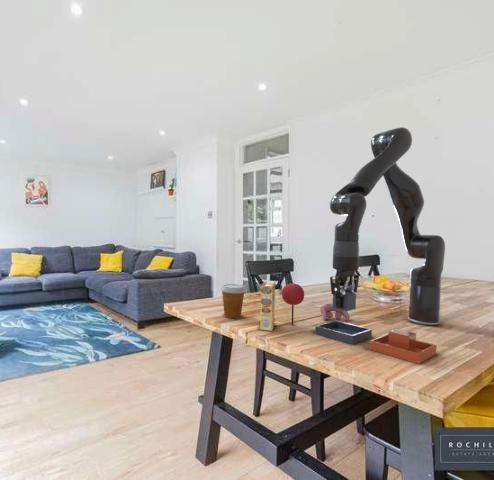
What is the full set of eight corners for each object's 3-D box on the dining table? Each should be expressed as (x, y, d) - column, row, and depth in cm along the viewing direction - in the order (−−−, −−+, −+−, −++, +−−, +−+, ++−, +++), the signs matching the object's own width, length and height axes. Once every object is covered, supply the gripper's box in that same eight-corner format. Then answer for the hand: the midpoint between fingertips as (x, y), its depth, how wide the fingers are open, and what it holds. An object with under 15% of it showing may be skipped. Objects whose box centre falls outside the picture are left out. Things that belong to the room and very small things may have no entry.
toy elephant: (346, 322, 128) (343, 305, 131) (351, 320, 124) (348, 302, 127) (320, 321, 129) (318, 304, 132) (324, 319, 125) (321, 301, 128)
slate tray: (335, 327, 116) (335, 320, 116) (371, 337, 106) (372, 329, 106) (315, 333, 109) (315, 325, 109) (352, 344, 99) (352, 335, 99)
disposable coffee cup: (218, 313, 134) (218, 283, 133) (241, 313, 135) (241, 283, 134) (223, 319, 124) (224, 288, 124) (248, 319, 125) (248, 288, 125)
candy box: (272, 331, 111) (273, 286, 110) (259, 329, 112) (260, 285, 112) (274, 324, 119) (275, 282, 118) (262, 323, 120) (263, 281, 120)
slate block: (340, 306, 111) (341, 291, 111) (355, 309, 107) (356, 293, 106) (332, 307, 108) (332, 292, 108) (347, 311, 104) (348, 295, 104)
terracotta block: (395, 345, 97) (396, 328, 97) (415, 350, 93) (416, 333, 93) (388, 348, 94) (388, 331, 94) (408, 354, 90) (409, 336, 90)
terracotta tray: (388, 341, 102) (388, 333, 102) (436, 354, 92) (436, 345, 92) (369, 349, 95) (369, 340, 95) (418, 363, 85) (419, 354, 85)
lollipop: (303, 323, 121) (304, 282, 121) (303, 329, 114) (305, 285, 113) (281, 320, 124) (282, 281, 123) (280, 326, 116) (281, 284, 116)
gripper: (345, 256, 100) (343, 312, 100) (368, 255, 108) (366, 306, 108) (322, 254, 106) (320, 307, 106) (345, 253, 114) (344, 302, 114)
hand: (343, 306), depth 107 cm, fingers closed on slate block, 5 cm apart
